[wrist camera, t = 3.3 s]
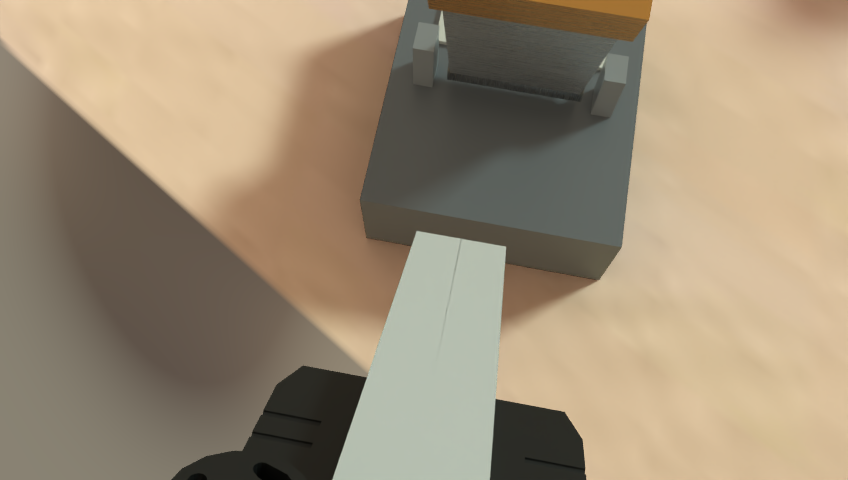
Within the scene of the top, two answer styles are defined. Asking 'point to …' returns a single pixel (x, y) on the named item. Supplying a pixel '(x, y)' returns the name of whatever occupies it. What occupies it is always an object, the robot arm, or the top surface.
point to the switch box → (503, 157)
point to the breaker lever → (536, 41)
